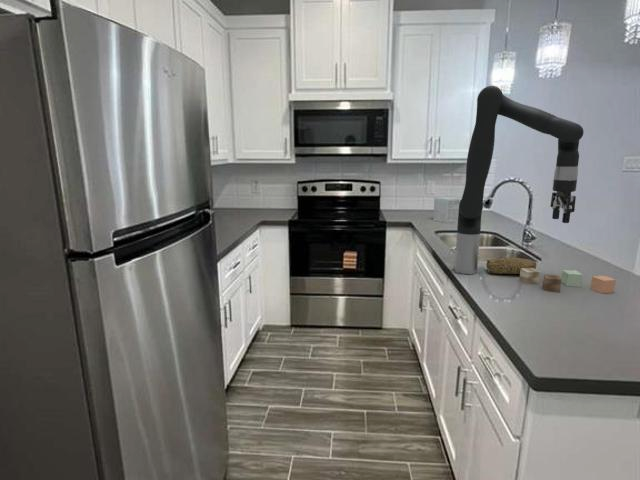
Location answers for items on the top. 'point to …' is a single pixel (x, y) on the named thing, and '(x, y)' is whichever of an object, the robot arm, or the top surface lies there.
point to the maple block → (529, 276)
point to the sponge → (509, 265)
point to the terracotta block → (602, 284)
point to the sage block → (571, 278)
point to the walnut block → (551, 283)
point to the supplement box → (446, 209)
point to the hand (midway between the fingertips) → (560, 220)
